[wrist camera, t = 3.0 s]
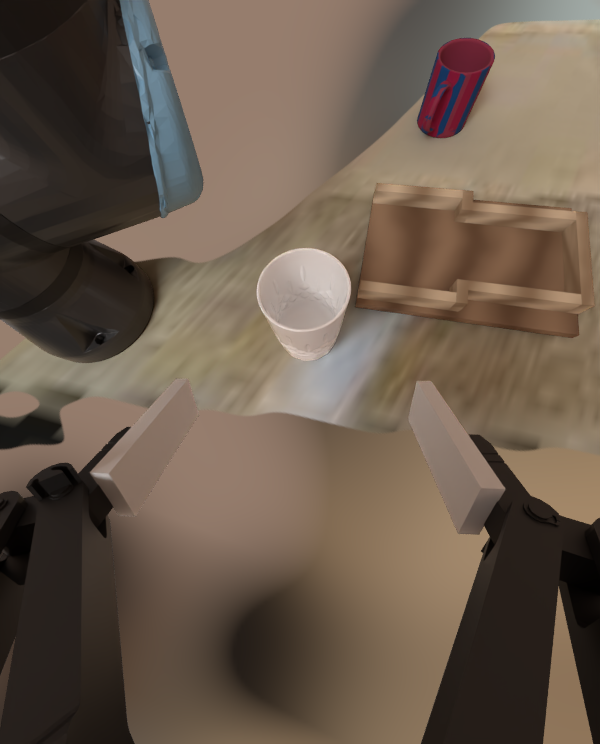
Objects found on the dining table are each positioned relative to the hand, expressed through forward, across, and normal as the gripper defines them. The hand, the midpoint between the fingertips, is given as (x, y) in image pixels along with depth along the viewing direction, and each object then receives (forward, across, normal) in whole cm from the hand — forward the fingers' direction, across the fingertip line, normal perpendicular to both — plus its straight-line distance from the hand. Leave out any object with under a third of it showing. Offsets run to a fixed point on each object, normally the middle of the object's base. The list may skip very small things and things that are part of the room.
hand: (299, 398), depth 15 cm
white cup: (+17, 0, -3) cm, 17 cm away
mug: (+40, +18, +20) cm, 48 cm away
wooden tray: (+24, +19, +4) cm, 30 cm away
